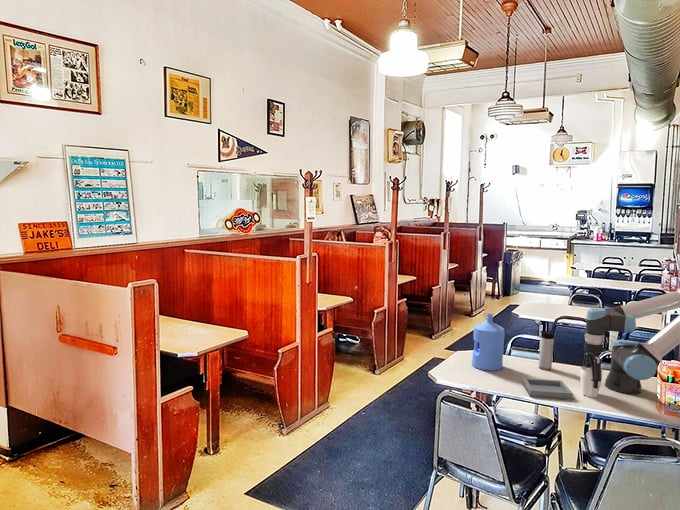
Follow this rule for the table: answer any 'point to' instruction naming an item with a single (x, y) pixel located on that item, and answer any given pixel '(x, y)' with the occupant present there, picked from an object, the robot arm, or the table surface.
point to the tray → (546, 388)
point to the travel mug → (546, 350)
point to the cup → (587, 381)
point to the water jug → (488, 345)
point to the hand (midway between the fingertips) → (589, 390)
